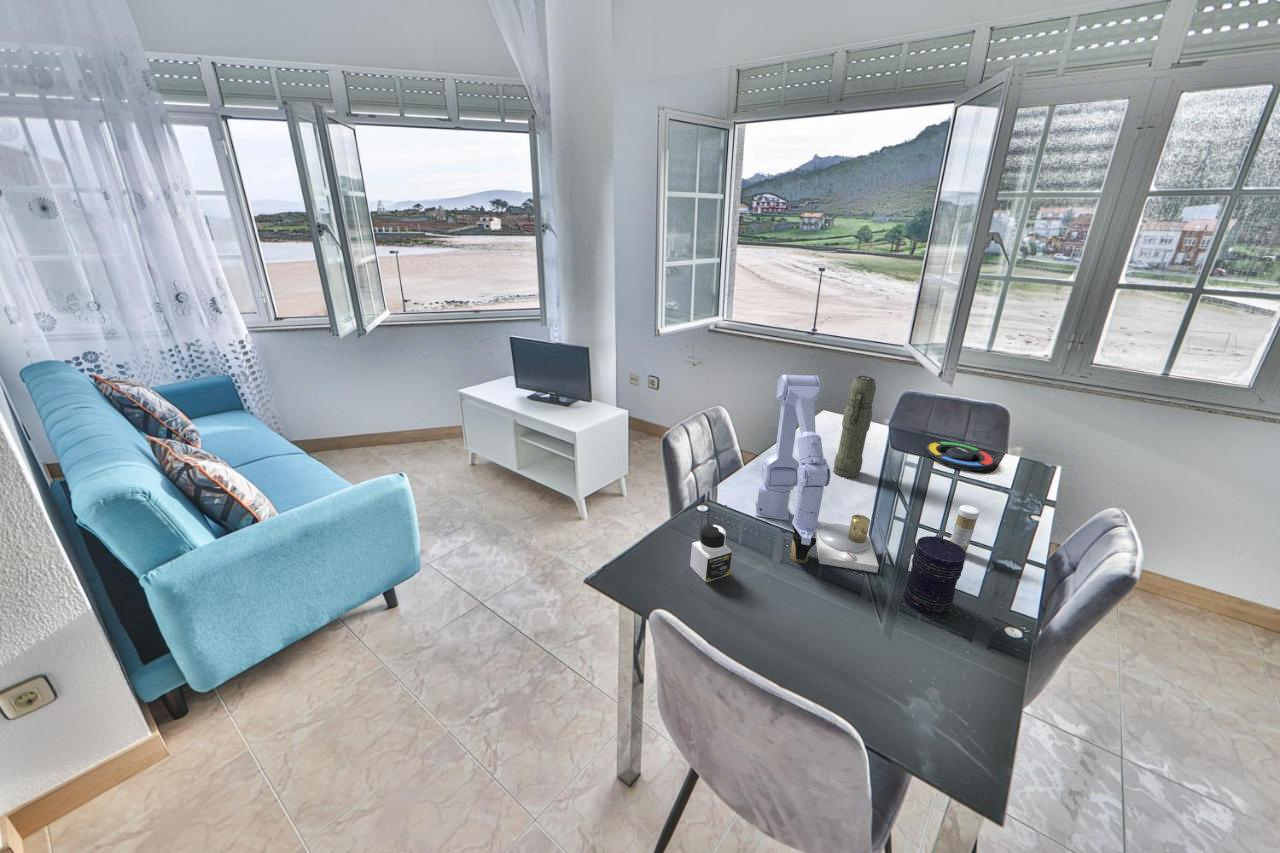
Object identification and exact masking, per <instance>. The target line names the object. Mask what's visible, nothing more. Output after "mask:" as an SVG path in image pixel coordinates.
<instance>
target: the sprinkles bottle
mask: <svg viewBox="0 0 1280 853" xmlns="http://www.w3.org/2000/svg"><path fill="white" fill-rule="evenodd" d="M979 516H980V510H979V509H978V508H976V507H975V506H971V505H969V504H968V505H967V504H966V505H965V504H963V505H960V506H959V509H958V511H957V518H956V521H955V524H954V527H953V529H952V533H951V536H950V540H949V541H951V542H953V543H955V544H957V545H958V546H960V547H961V548H962V549H963V550H964V551H965V553H966V554H967V551H968V548H969V546H970V543H971V540H972V537H973V534H974V531H975V527H976V522H977V520H978V518H979Z"/></svg>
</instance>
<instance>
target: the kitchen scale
mask: <svg viewBox="0 0 1280 853" xmlns="http://www.w3.org/2000/svg"><path fill="white" fill-rule="evenodd" d="M817 523H821V525H822V528H821V529H816V531H815V532H814V538H816V543H815V545H816V550H817V557H818V564H821V565H827V566H833V567H838V568H839V567H840V568H846V569H851V570H858V571H862V570H863V572H868V573H875V574H877V573H878V571H879V567H880V565H879V563H878V560H877V557H876V556H877V555H876V554H875V550H874V547H873V545H872V541H871V537H870V534H869V532H868V533H867V537H866V541H865V542H864V543H856V542H853V541H851V540H850V539H849V538H848V534H849V529H850V525H847V524H843V523H832V522H831V523H830V522H824V521H817Z"/></svg>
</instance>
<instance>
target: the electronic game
mask: <svg viewBox="0 0 1280 853" xmlns="http://www.w3.org/2000/svg"><path fill="white" fill-rule="evenodd" d="M939 450H947V451H945V452H942V451H939ZM925 452H926V454H927V455H928V456H930V457H931V458H932V459H933V460H934V459H935V460H936V461H935V460H934V461H935V462H937V461H938V462H937V463H939V462H940V463H939V464H941V463H942V464H941V465H943V464H944V466H946V467H950V468H952V467H953V469H956V468H957V469H958V470H961V469H962V471H967V470H970V471H969V472H979V470H980V471H984V470H989V469H991V468H993V467H994V465H995V462H996V460H995V458H994V457H993V456H992V455H991V454H989V453H988V452H987V451H984V450H982V449H980V448H978V447H975V446H972V445H968V444H965V443H960V442H954V441H944V440H942V441H939V440H938V441H932V442H930V443H928V444H927V445H926V447H925ZM976 458H977V459H976ZM974 459H976V460H978V459H979V460H980V461H979V460H978V461H973V460H974Z"/></svg>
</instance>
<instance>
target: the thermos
mask: <svg viewBox="0 0 1280 853" xmlns="http://www.w3.org/2000/svg"><path fill="white" fill-rule="evenodd" d="M876 385H877V384H876V379H874V378H873V377H871V376H867V375H859V376H855V378H854V379H853V381H852V383H851V386H850V391H849V396H848V399H849V400H848V402H847V406H846V407H845V409H844V411H843V416H842V422H841V425H842V431H841V435H840V439H839V440H840V441H839V444H838V451H837V454H835V458H834V464H833V466H834V467H833V471H832V472H833V473H834V474H835V475H836V476H838V477H840V478H843V477H844V479H848V478H850V480H852V479H851V478H855V479H858V478H859V477H860V471H861V470H862V466H863V454H864V449H865V444H866V439H867V434H868V432H869V430H870V427H871V424H872V418H873V410H872V408H873V402H874V397H875V394H876V390H877V386H876ZM858 476H859V477H858ZM857 477H858V478H857Z"/></svg>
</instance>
